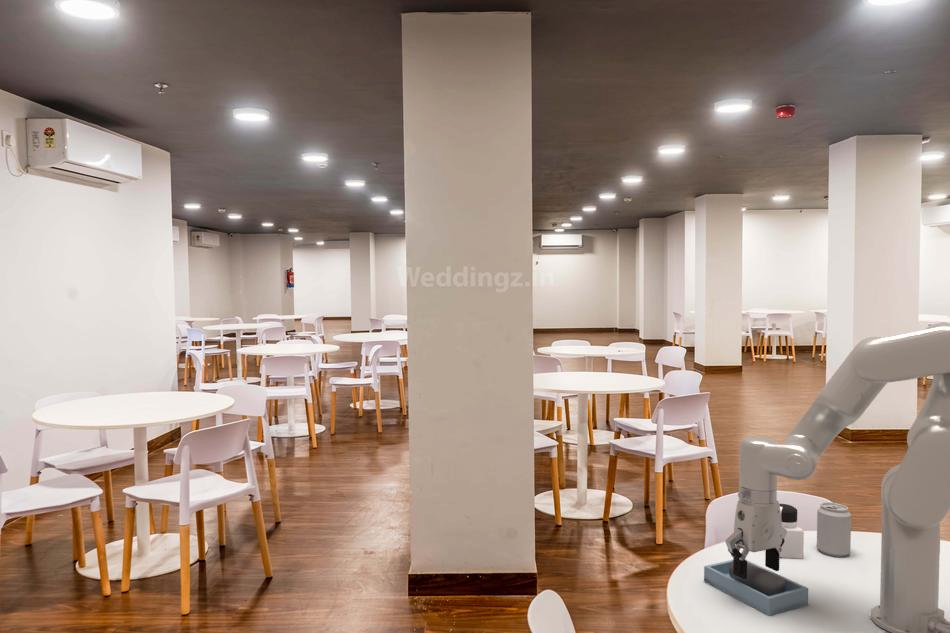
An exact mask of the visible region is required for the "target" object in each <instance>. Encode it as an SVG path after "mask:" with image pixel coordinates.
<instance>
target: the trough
mask: <svg viewBox="0 0 950 633" xmlns="http://www.w3.org/2000/svg"><path fill="white" fill-rule="evenodd" d="M745 560H746V561H747V562H749V563H751V564H753V565H755V566H757V567H760V568H762V569H764V570H766V571H768V572H770V573H773V574H775V575H777V576H779V577H781V578H783V579H784V580H785V582H786V591H785V592H783V593H780V594H776V595H772V596H767V595H765V594H763V593H761V592H759V591H757V590H755V589H753V588H751V587H749V586H747V585H745V584H743V583H741V582H739V581H737V580H735V579H733V578H731V577H730V575H729V566H730V564H731V562H732V561H733V559H729V560H725V561H721V562H717V563H711V564H708V565H707V564H706V565H704V566H703V570H704V571H703V582H704V581H705V582H704V583H706V584H708V583H709V584H708V585H710V586H712V587H714V588H715V589H717V588H718V589H717V590H719V589H720V590H719V591H721V592H723V593H724V594H727V595H729V596H731V597H732V598H735V599H736V600H739V601H740V602H742V603H744V604H746V605H747V606H749V607H751V608H753V609H755V610H757V611H759V612H761V613H763V614H765V615H766V616H768V617H770V616H773V615H777V614H781V613H784V612H787V611H791V610H794V609H798V608H801V607H805V606H808V605H809V587H807V586H804V585H802V584H800V583H798V582H797V581H793V580H792V579H790V578H787V577H785V576H783V575H780V574H778V573H776V572H774V571H771V569H768V568H765V567H763V566H761V565H759V564H756V563H754V562H751V561H750V560H747V559H746V558H745Z"/></svg>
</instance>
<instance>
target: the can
mask: <svg viewBox="0 0 950 633" xmlns="http://www.w3.org/2000/svg"><path fill="white" fill-rule="evenodd" d="M816 513H817V515H816V516H817V517H816V547H817V549H818V550H819V551H820V552H821V553H823V554H825V555H827V556H830V557H835V558H836V557H837V558H838V557H840V558H843V557H847V555H849V554H850V553H851V542H852V541H851V539H852V538H851V537H852V536H851V535H852V513H851V512H850V511H849V507H848V506H847V505H844V504H841V503H837V502H831V501H830V502H828V501H827V502H821V503H820V507H818V508H817V512H816Z"/></svg>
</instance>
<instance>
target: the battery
mask: <svg viewBox="0 0 950 633" xmlns="http://www.w3.org/2000/svg"><path fill="white" fill-rule="evenodd" d="M729 575H730V577H731V578H733V579H735V580H737V581H739V582H741V583H743V584H745V585H747V586H749V587H751V588H753V589H755V590H757V591H759V592H761V593H763V594H765V595H767V596H772V595H776V594H780V593H783V592H785V591H786V582H785V580H784V579H783V578H781V577H779V576H777V575H775V574H773V573H770V572H768V571H766V570H764V569H762V568H760V567H757V566H755V565H753V564H751V563H749V562H747V579H742V578H740V577H738V576H736V575H734V574H733V561H732V562H731V564H730V566H729Z"/></svg>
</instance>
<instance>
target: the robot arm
mask: <svg viewBox="0 0 950 633" xmlns="http://www.w3.org/2000/svg"><path fill="white" fill-rule="evenodd" d="M932 376H933V377H932ZM926 377H932V382H931V386H930V388H929V390H928V393H927V395H926V398H925V400H924V402H923V403H922V407H921V408H920V410H919V412H918V414H917V416H916V418H915V419H914V422H913V424H912V425H911V426H910V428H909V430H908V431H907V436H906V443H907V447H908V448H907V451H906V453H905V454H904V456H903V459H902V461H901V462H900V463H899V464H897V465H895V466H893V467H891V468H889V470H887V472H886V473H885V474H884V476H883V479H882V481H881V489H880V490H881V491H880V493H881V494H880V496H881V498H880V499H881V547H880V548H881V549H880V550H881V552H880V589H879V590H880V591H879V592H880V593H879V605H876V606H874V607H873V608H871V609H870V619H871V620H872V621H873V623H875V625H877V626H878V627H880V628H881V629H884V630H885V631H887V632H889V633H950V621H949V620H947V619H946V618H945V610H943V609H941V608H939V598H940V597H939V592H940V556H941V555H940V553H941V522H942V521H943V520H945V518H946V516H947V515H948V513H949V511H950V323H949V322H938V323H935V324H931V325H929V326H927V327H926V328H925V329H921V330H916V331H912V332H906V333H902V334H898V335H892V336H885V337H880V336H870V337H866V338H864V339H862V340H860V341H859V342H857V344H856V345H855V346H854V347H853V349H852V350H851V351H850V352H849V353H848V355H847V356H846V358H845V359H844V360H843V361H842V363H841V365H840V366H839V367H838V368H837V369H836V371H835V372H834V373H833V375H832V376H831V378H829V380H827V383H826V384H825V385H824V386H823V388H822V389H821V390H820V392H819V393H818V394H817V396H816V397H815V399H814V400H813V402H812V403H811V405H810V406H809V407H808V409H807V411H806V412H805V413H804V415H802V417H801V418H800V419H799V421H798V422H797V424H796V425H795V426H794V428H793V429H792V430H791V432H789V434H788V435H787V436H786V438H785V439H784V441H783V442H782V443H777V442H776V441H775V440H774V439H771V438H770V437H765V436H756V435H755V436H753V435H752V436H751V435H750V436H749V435H748V436H744V437H743V438H742V439H741V440H740V442H739V463H738V464H739V465H738V466H739V467H738V468H739V471H738V472H739V474H738V475H739V476H738V477H739V478H738V479H739V481H738V492H737V497H738V500H737V504H736V509H735V516H734V526H733V532H732V534H730V535H729V536H728V537H727V538H726V539H725V544H726V546H727V551H728V553H730V555H731V557H732V560H733V574H734V575H736V576H738V577H740V578H742V579H747V561H746V560H747V559H746V558H747V557H748V555H749V552H751V553H757V552H761V551H763V552H764V551H765V554H764V558H765V559H764V562H765V563H764V565H765V567H766V568H767V569H769V570H773V571H775V572H778V571H780V558H779V555H780V552H781V551H782V548H781V547H782V545H783V544H784V541H785V540H784V538H785V536H786V533H787V530H786V529H784V528H783V527H782V519H781V511H780V505H779V504H780V502H779V500H778V497H777V496H778V495H777V493H778V492H777V490H778V476H779V477H783V478H786V479H788V480H789V479H790V480H795V481H803V480H807V479H810V478H812V477H813V475H814V474H815V473H816V471H817V468H818V461H819V459H820V457H822V455H823V453H824V452H825V451H826V449H827V448H828V447H829V446H830V445H831V443H832V442H833V441H834V440H835V438H836V437H837V436H838V435H839V434H840V433H841V432H842V431H843V430H844V429H845V428H847V427H848V426H850V425H853V424H854V423H855V422H856V421H858V420H859V419H860V418H861V417H862V415H863V414H864V412H865V411H866V410H867V409H868V408H869V407H870V405H871V404H872V402H874V400H875V399H876V398H877V396H878V395H879V394H880V393H881V391H882V390H883V389H884V388H885V386H886V385H888V383H894V382H903V381H909V380H915V379H919V378H920V379H921V378H926ZM741 549H742V551H741V552H740V550H741ZM745 559H746V560H745Z"/></svg>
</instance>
